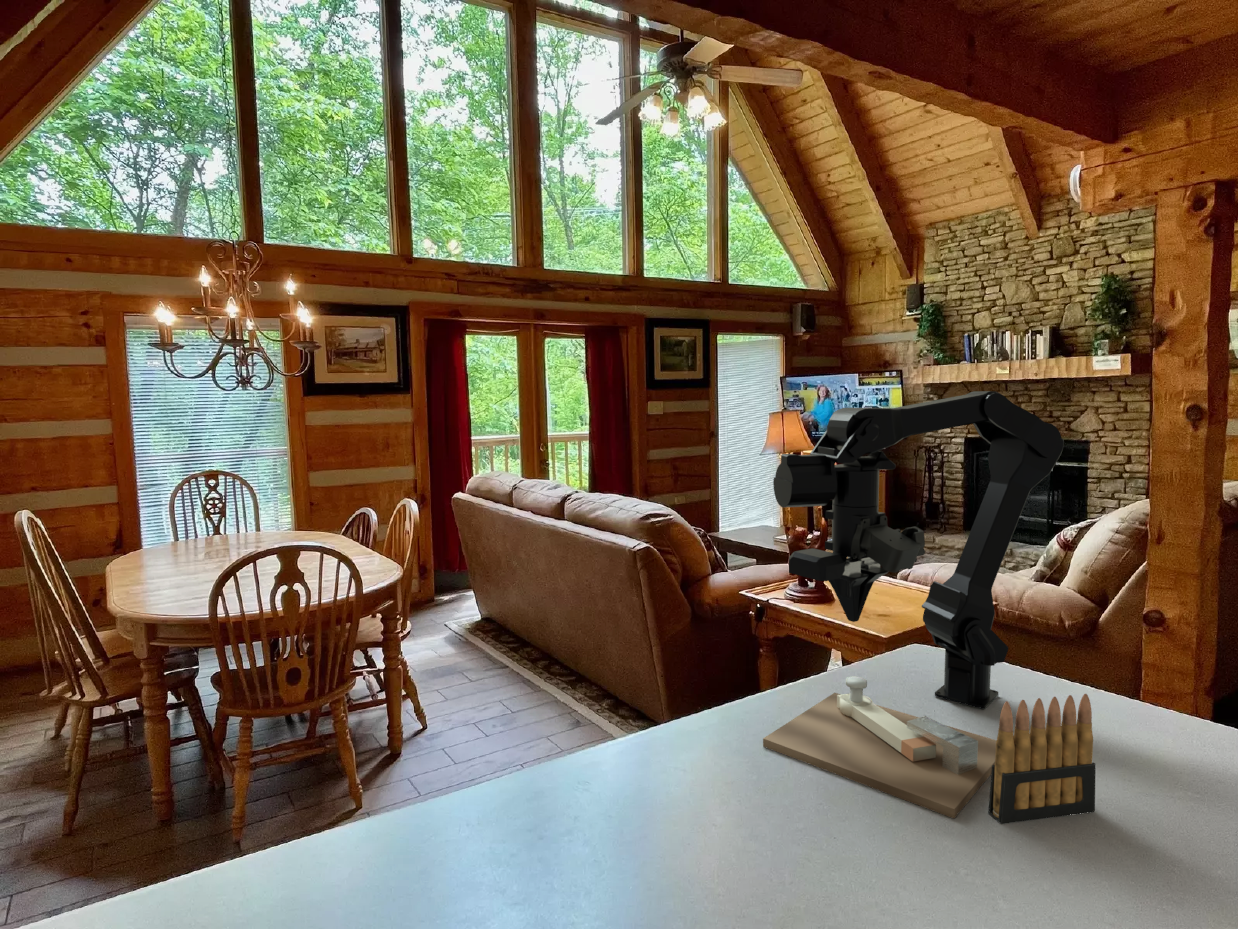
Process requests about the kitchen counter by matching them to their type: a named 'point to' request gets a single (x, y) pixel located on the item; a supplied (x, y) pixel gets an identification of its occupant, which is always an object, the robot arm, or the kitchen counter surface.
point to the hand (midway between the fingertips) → (853, 620)
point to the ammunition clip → (1043, 763)
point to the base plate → (880, 758)
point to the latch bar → (883, 722)
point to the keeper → (948, 744)
